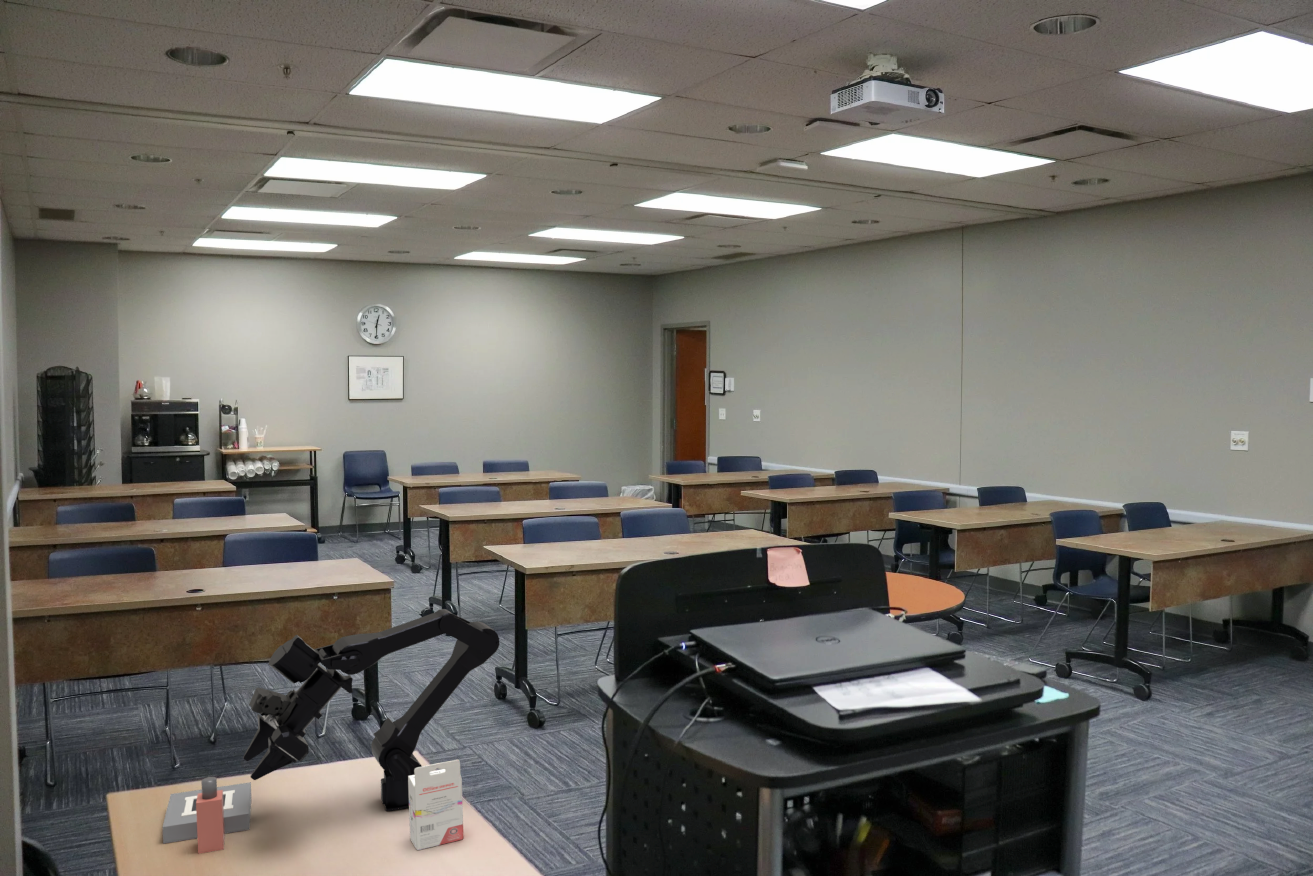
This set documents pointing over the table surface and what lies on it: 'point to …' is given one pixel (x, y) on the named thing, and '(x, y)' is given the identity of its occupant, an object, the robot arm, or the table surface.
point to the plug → (210, 817)
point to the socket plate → (184, 815)
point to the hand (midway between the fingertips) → (248, 769)
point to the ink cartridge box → (435, 804)
